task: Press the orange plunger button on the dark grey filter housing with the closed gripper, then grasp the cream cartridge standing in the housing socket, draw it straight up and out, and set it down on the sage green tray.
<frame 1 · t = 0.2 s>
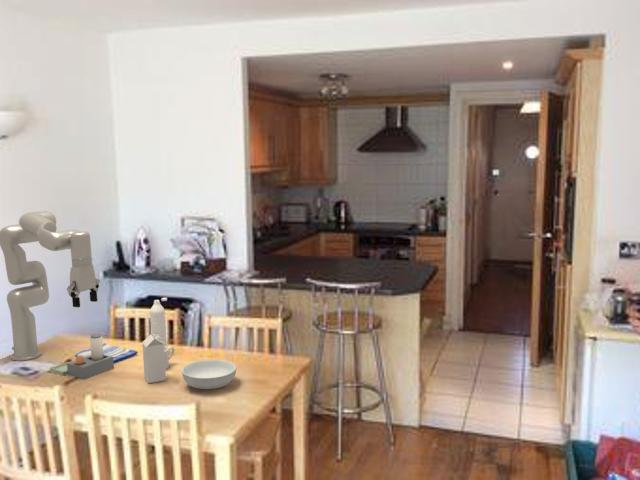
hand: (85, 304, 242), 30 cm above the table, tool pointing down, fingers open, 9 cm apart
housing: (91, 371, 251), on the table
tray: (66, 370, 252), on the table
water bottle: (161, 353, 273), on the table
dish towel: (106, 357, 270), on the table
milk carton: (155, 379, 241), on the table
mug: (160, 367, 255), on the table
cartridge: (97, 364, 253), point 2 cm above the table, touching housing
serving bowl: (210, 385, 235), on the table
plunger: (79, 361, 246), point 6 cm above the table, slide at 0.0 cm
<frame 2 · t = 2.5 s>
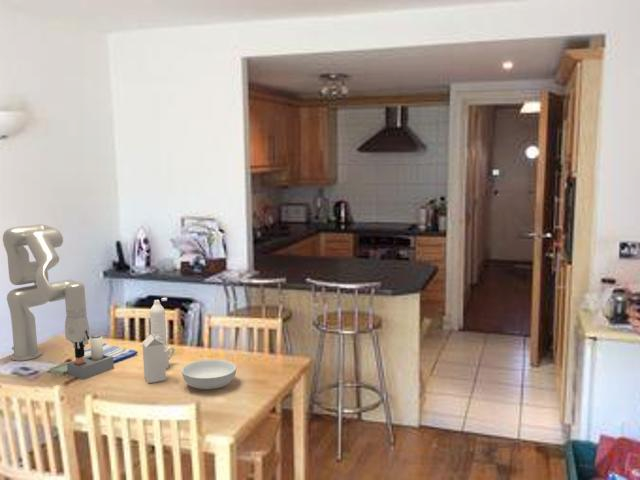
hand: (79, 356, 245), 8 cm above the table, tool pointing down, fingers closed
plunger: (79, 361, 246), point 6 cm above the table, slide at 0.0 cm, touching gripper
everything else where it was.
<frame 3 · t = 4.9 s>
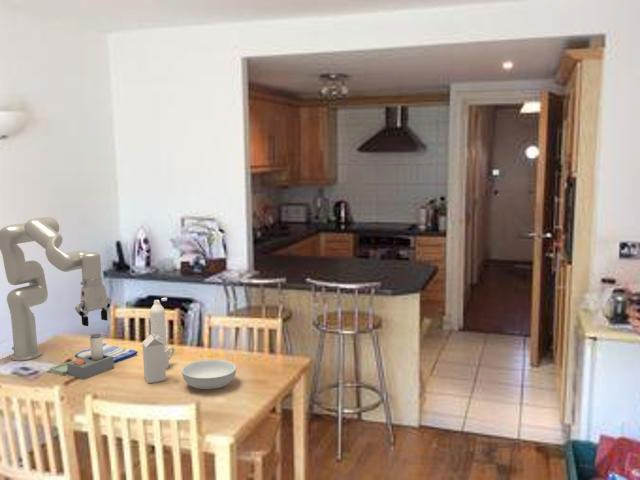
hand: (95, 322, 251), 20 cm above the table, tool pointing down, fingers open, 9 cm apart
plunger: (80, 364, 246), point 5 cm above the table, slide at 1.4 cm
everything else where it was.
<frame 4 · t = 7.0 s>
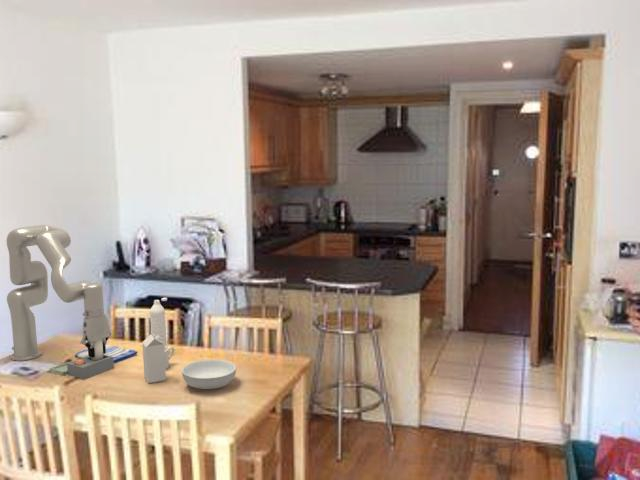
hand: (97, 354, 253), 6 cm above the table, tool pointing down, fingers closed on cartridge, 4 cm apart
cartridge: (97, 364, 253), point 2 cm above the table, touching gripper, housing
everything else where it was.
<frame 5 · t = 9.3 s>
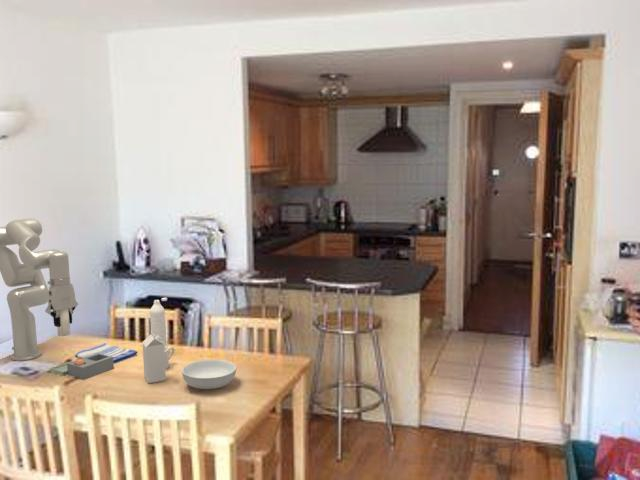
hand: (63, 324, 249), 20 cm above the table, tool pointing down, fingers closed on cartridge, 4 cm apart
cartridge: (64, 334, 250), point 16 cm above the table, touching gripper
everything else where it was.
when the fingers open (7 cm above the table, at t = 12.1 s): cartridge drops 1 cm, resting on tray.
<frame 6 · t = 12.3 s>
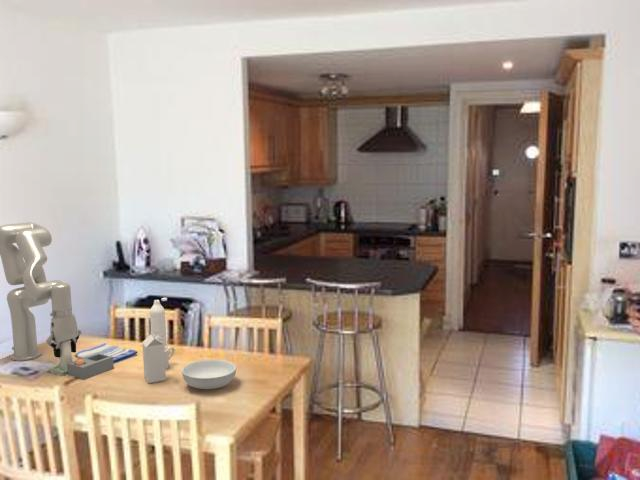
hand: (65, 354, 251), 7 cm above the table, tool pointing down, fingers open, 6 cm apart
cartridge: (66, 368, 252), point 1 cm above the table, touching tray
everything else where it was.
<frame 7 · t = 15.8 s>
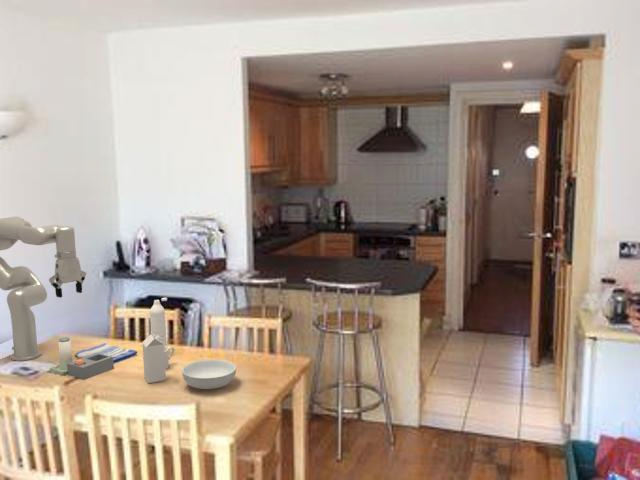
hand: (69, 294, 258), 30 cm above the table, tool pointing down, fingers open, 9 cm apart
nothing on the table moved.
at the end: cartridge 0.0 cm off-centre on the tray, point 1.0 cm above the tray's base; cartridge tilted 0°; cartridge touching tray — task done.
